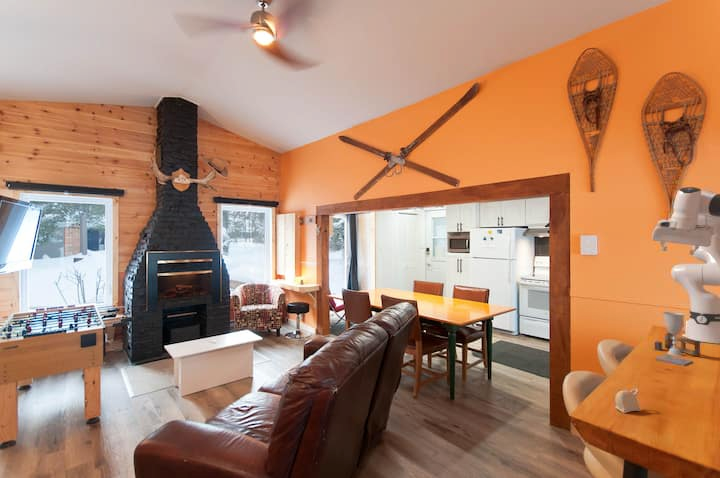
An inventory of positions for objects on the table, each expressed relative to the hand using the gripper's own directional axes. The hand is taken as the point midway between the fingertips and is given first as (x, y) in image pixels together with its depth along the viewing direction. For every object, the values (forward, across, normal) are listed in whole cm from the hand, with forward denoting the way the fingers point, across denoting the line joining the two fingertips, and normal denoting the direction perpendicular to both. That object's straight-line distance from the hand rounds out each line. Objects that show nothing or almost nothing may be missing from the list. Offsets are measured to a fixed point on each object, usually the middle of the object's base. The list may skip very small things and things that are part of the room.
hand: (677, 252), depth 159 cm
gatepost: (+44, -4, +10) cm, 45 cm away
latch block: (+43, -1, +17) cm, 46 cm away
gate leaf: (+41, -8, +15) cm, 45 cm away
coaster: (+38, -7, +33) cm, 51 cm away
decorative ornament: (+23, -2, +99) cm, 102 cm away
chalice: (+41, -6, +21) cm, 47 cm away
